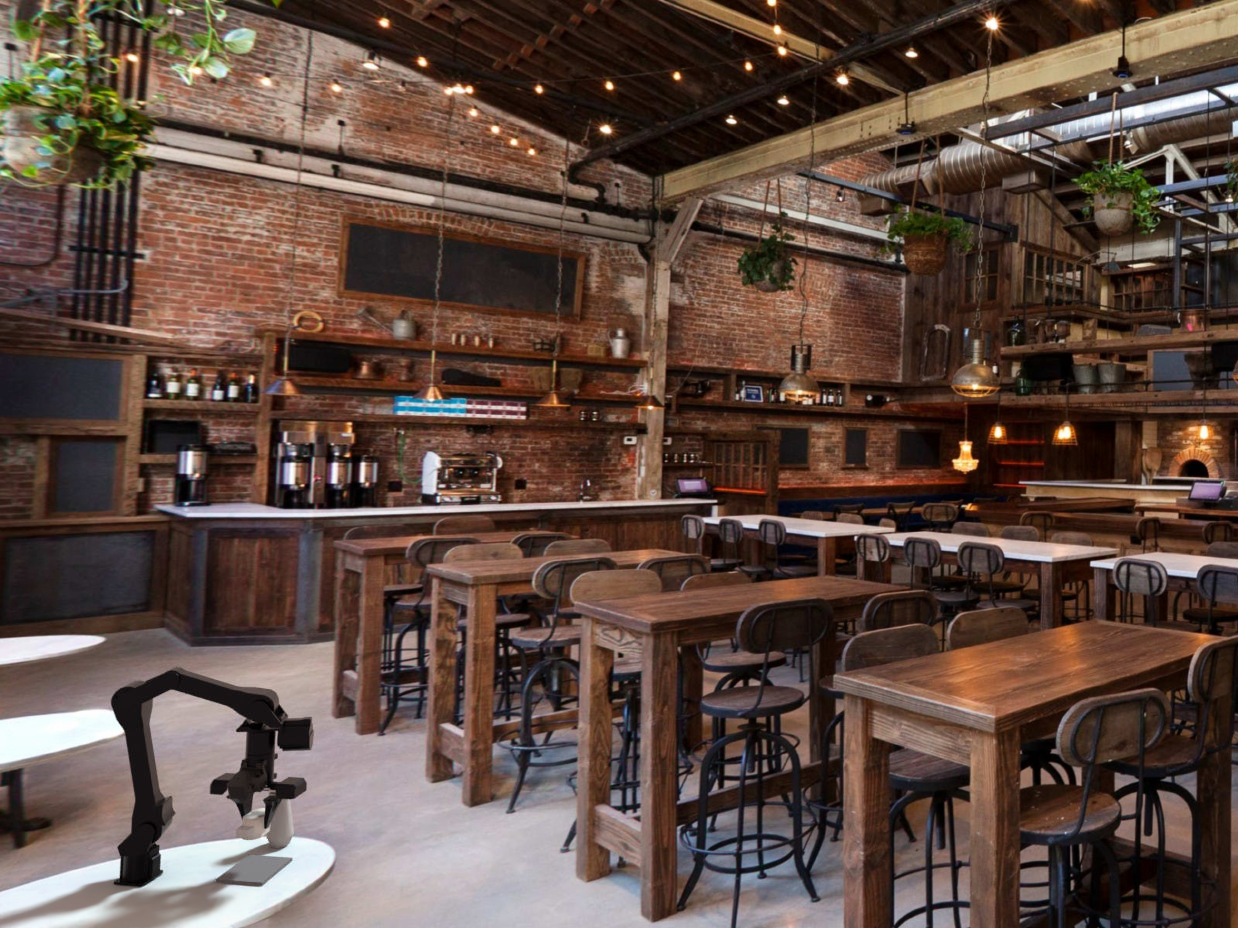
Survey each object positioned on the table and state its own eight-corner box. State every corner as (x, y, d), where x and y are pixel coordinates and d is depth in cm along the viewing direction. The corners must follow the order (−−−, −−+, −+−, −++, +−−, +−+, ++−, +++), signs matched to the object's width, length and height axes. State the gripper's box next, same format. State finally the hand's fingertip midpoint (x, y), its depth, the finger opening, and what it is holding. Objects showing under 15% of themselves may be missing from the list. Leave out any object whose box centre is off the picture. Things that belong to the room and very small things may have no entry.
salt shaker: (283, 850, 182) (285, 790, 182) (260, 848, 183) (262, 788, 183) (298, 840, 187) (301, 782, 188) (276, 838, 188) (278, 780, 189)
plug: (256, 826, 175) (257, 807, 176) (274, 827, 175) (274, 808, 175) (232, 842, 167) (233, 822, 167) (250, 844, 166) (251, 824, 166)
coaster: (215, 881, 166) (215, 878, 166) (248, 857, 178) (248, 854, 178) (262, 885, 165) (262, 882, 165) (292, 860, 177) (292, 857, 177)
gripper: (195, 760, 166) (190, 839, 165) (282, 765, 164) (278, 845, 163) (227, 745, 177) (223, 819, 176) (309, 749, 175) (306, 824, 174)
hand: (256, 827), depth 172 cm, fingers closed on plug, 4 cm apart
